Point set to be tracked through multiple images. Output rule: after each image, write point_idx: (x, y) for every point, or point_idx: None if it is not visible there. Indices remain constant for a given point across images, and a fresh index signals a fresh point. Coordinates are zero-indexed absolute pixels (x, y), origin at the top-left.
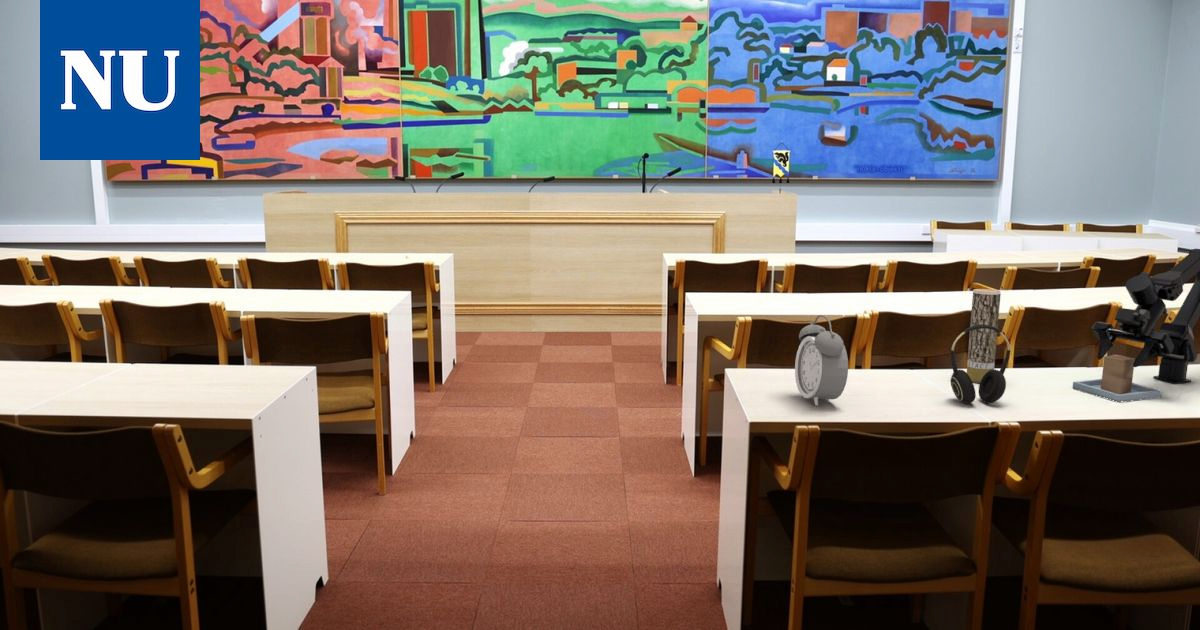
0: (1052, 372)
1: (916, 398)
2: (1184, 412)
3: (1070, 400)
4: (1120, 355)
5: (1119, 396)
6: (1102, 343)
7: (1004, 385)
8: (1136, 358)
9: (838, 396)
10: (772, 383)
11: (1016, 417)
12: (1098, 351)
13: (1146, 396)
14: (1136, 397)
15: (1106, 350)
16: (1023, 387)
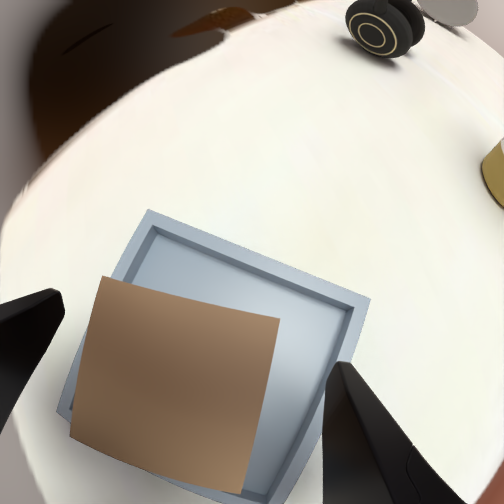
0: (471, 460)
1: (425, 44)
2: (7, 260)
3: (282, 141)
4: (191, 483)
5: (148, 213)
6: (400, 474)
7: (349, 9)
8: (19, 307)
9: (419, 4)
10: (495, 57)
11: (287, 19)
12: (375, 400)
13: None
14: None
15: (332, 496)
16: (437, 193)
